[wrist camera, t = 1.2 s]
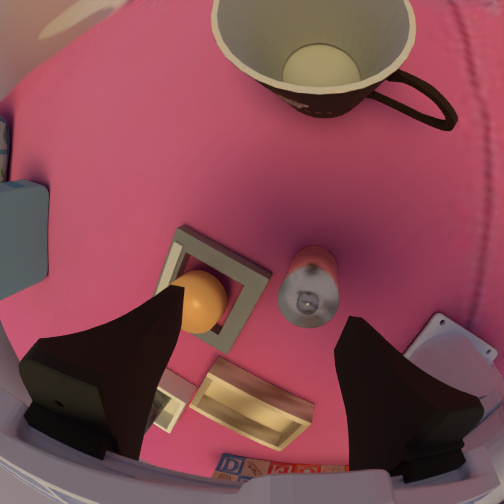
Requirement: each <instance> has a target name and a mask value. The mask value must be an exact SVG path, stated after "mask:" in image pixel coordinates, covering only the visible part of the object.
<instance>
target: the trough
mask: <svg viewBox="0 0 504 504" xmlns="http://www.w3.org/2000/svg"><path fill="white" fill-rule="evenodd" d="M189 407H190V408H192V409H194V410H195V411H197V412H199V413H201V414H203V415H204V416H206V417H208V418H210V419H212V420H213V421H215V422H217V423H219V424H221V425H223V426H225V427H227V428H229V429H231V430H233V431H235V432H237V433H239V434H241V435H243V436H245V437H247V438H249V439H252V440H254V441H256V442H258V443H260V444H263V445H265V446H267V447H269V448H272V449H274V450H277V451H279V452H280V451H281V450H283V449H284V448H285V447H286V446H287V445H289V444H290V443H291V442H292V441H293V440H294V439H295V438H296V437H298V436H299V435H300V434H301V433H302V432H303V431H304V430H305V429H306V428H307V427H309V426H310V425H311V424H312V418H313V411H314V404H312V403H310V402H308V401H305V400H303V399H301V398H299V397H297V396H295V395H293V394H290V393H288V392H286V391H284V390H282V389H280V388H278V387H276V386H274V385H272V384H270V383H268V382H266V381H264V380H262V379H260V378H258V377H256V376H255V375H253V374H251V373H249V372H247V371H245V370H243V369H242V368H240V367H238V366H236V365H234V364H232V363H231V362H229V361H227V360H225V359H224V358H222V357H220V356H219V357H218V358H217V360H216V361H215V363H214V364H213V366H212V367H211V369H210V370H209V372H208V374H207V376H206V377H205V379H204V381H203V383H202V385H201V386H200V388H199V390H198V392H197V393H196V395H195V397H194V399H193V401H192V402H191V404H190V406H189Z"/></svg>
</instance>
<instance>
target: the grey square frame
mask: <svg viewBox="0 0 504 504" xmlns="http://www.w3.org/2000/svg"><path fill="white" fill-rule="evenodd" d="M190 255H192V256H194V257H195V258H197V259H199V260H200V261H202V262H204V263H206V264H207V265H209V266H211V267H213V268H214V269H216V270H218V271H219V272H221V273H223V274H225V275H226V276H228V277H230V278H232V279H234V280H235V281H237V282H239V283H241V284H242V285H244V287H243V289H242V291H241V293H240V295H239V297H238V299H237V301H236V303H235V305H234V307H233V309H232V310H231V312H230V314H229V316H228V318H227V320H226V322H225V324H224V326H223V328H222V327H220V326H218V325H217V324H215V325H214V326H213V327H212V328H211V329H210V330H209V331H207V332H204V333H199V334H195V333H191V334H192V335H194V336H196V337H197V338H199V339H201V340H202V341H204V342H206V343H207V344H209V345H211V346H213V347H214V348H216V349H218V350H219V351H221V352H223V353H225V354H226V355H227V354H228V352H229V351H230V349H231V347H232V346H233V344H234V342H235V340H236V339H237V337H238V335H239V333H240V332H241V330H242V328H243V326H244V325H245V323H246V321H247V319H248V317H249V316H250V314H251V312H252V310H253V309H254V307H255V305H256V303H257V301H258V300H259V298H260V296H261V294H262V292H263V291H264V289H265V287H266V285H267V283H268V282H269V280H270V278H271V276H272V274H271V273H269V272H268V271H266V270H264V269H262V268H260V267H258V266H257V265H255V264H253V263H251V262H249V261H248V260H246V259H244V258H242V257H240V256H239V255H237V254H235V253H233V252H231V251H230V250H228V249H226V248H224V247H222V246H221V245H219V244H217V243H215V242H213V241H212V240H210V239H208V238H206V237H205V236H203V235H201V234H199V233H197V232H196V231H194V230H192V229H190V228H188V227H187V226H185V225H183V226H181V227H178V228H177V229H176V232H175V235H174V237H173V240H172V243H171V246H170V248H169V251H168V254H167V257H166V260H165V262H164V265H163V268H162V271H161V274H160V277H159V280H158V283H157V286H156V289H155V292H154V295H153V297H154V296H155V295H157V294H158V293H159V292H161V291H162V290H163V289H165V288H166V287H168V286H169V285H170V284H171V283H172V282H173V281H175V280H176V279H178V278H179V277H181V276H182V274H183V271H184V268H185V266H186V263H187V261H188V258H189V256H190ZM189 333H190V332H189Z"/></svg>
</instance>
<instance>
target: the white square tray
mask: <svg viewBox="0 0 504 504" xmlns="http://www.w3.org/2000/svg"><path fill="white" fill-rule="evenodd" d="M196 388H197V387H196V386H194V385H193V384H191V383H189V382H188V381H186V380H185V379H183V378H181V377H180V376H178V375H176V374H175V373H173V372H172V371H170V370H169V369H167V368H165V371H164V373H163V375H162V377H161V380H160V382H159V384H158V387H157V389H158V390H160V391H161V392H163V393H164V394H166V395H167V396H169V397H170V398H172V399H171V400H170V402H169V403H168V404H167V406H166V407H165V408H164V410H163V411H162V412H161V413H160V415H159V416H158V417H157V419H156V420H155V421H154V423H153V424H155V425H157V426H158V427H160V428H161V429H163V430H165V431H166V432H168V433H169V434H170V432H171V431H172V429H173V428H174V426H175V425H176V423H177V422H178V420H179V419H180V417H181V415H182V413H183V412H184V410H185V408H186V406H187V404H188V403H189V401H190V399H191V397H192V395H193V393H194V392H195V390H196Z"/></svg>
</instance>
